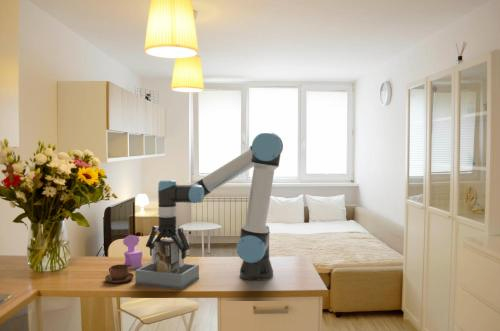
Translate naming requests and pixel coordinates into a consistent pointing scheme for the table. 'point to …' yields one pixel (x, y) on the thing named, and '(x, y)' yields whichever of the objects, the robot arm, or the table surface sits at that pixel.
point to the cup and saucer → (119, 274)
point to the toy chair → (132, 252)
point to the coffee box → (166, 256)
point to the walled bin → (167, 276)
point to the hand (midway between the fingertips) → (167, 264)
